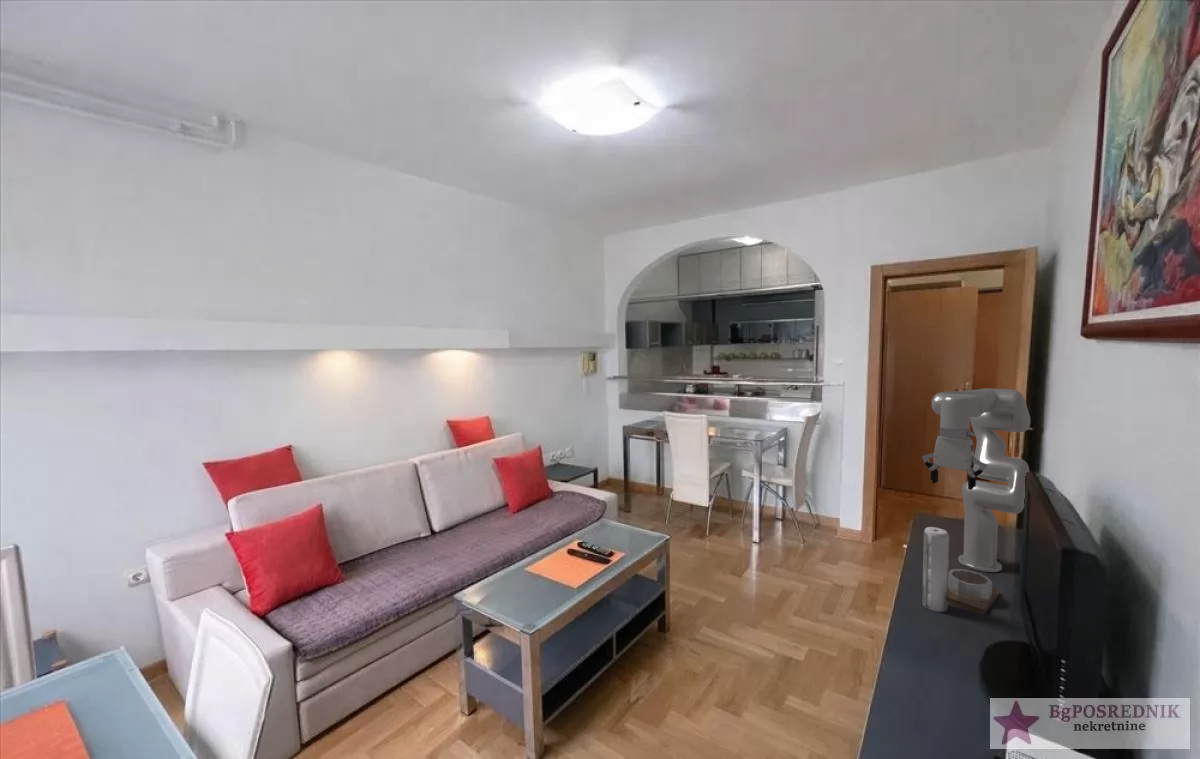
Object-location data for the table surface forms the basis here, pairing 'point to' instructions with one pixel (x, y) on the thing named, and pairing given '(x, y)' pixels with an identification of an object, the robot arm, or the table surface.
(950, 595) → the duct collar
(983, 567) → the robot arm
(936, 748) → the table surface
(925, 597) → the silver long cylinder
